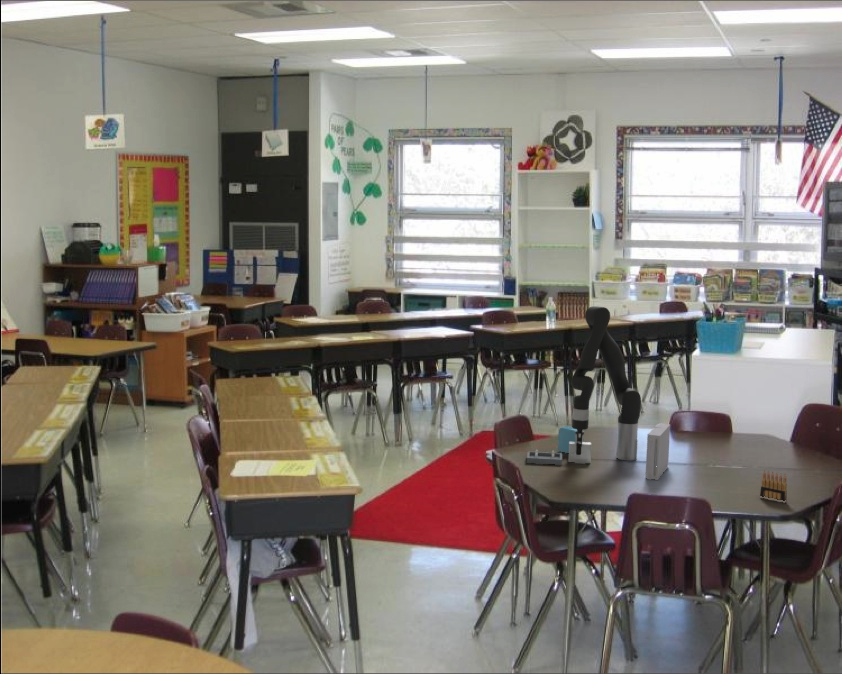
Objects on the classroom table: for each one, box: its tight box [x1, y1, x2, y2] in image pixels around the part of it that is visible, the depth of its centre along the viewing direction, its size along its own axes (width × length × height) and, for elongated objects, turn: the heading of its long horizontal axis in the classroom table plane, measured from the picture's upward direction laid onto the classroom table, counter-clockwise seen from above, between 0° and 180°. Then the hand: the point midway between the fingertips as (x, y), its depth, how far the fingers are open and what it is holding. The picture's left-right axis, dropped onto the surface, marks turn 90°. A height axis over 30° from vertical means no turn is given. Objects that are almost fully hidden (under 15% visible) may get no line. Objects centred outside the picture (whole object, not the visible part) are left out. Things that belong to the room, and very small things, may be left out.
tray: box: [526, 449, 563, 466], centre depth 518 cm, size 16×13×4 cm
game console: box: [644, 422, 671, 481], centre depth 500 cm, size 6×27×20 cm, turn 158°
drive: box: [568, 441, 592, 464], centre depth 518 cm, size 10×4×9 cm, turn 83°
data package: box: [557, 426, 585, 454], centre depth 535 cm, size 12×4×12 cm, turn 43°
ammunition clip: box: [759, 469, 788, 501], centre depth 459 cm, size 11×2×12 cm, turn 49°
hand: (578, 452), depth 518 cm, fingers open, 8 cm apart
